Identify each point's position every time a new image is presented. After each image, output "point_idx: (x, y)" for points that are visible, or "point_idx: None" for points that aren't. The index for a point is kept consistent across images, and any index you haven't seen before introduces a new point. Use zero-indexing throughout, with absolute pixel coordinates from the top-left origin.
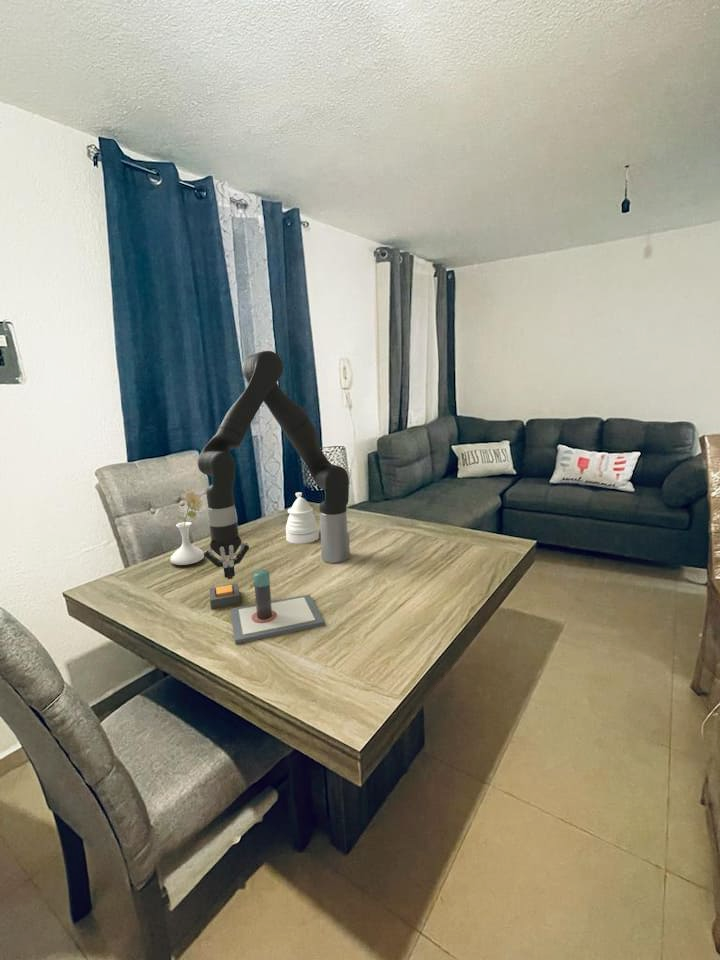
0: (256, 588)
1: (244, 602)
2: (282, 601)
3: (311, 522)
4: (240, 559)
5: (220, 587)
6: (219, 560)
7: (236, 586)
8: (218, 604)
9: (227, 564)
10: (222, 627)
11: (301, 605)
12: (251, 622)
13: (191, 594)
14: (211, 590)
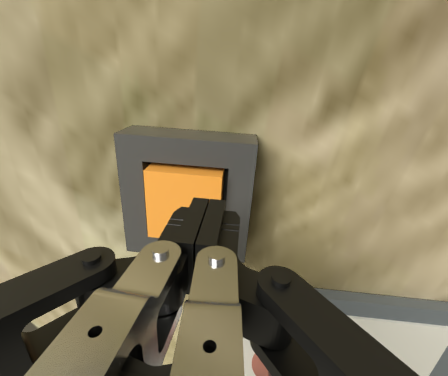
0: None
1: (258, 237)
2: (376, 321)
3: None
4: (298, 363)
5: (165, 181)
6: (95, 281)
7: (245, 180)
8: None
9: (180, 304)
10: (175, 331)
11: (414, 363)
12: (247, 371)
13: (43, 61)
14: (125, 167)
